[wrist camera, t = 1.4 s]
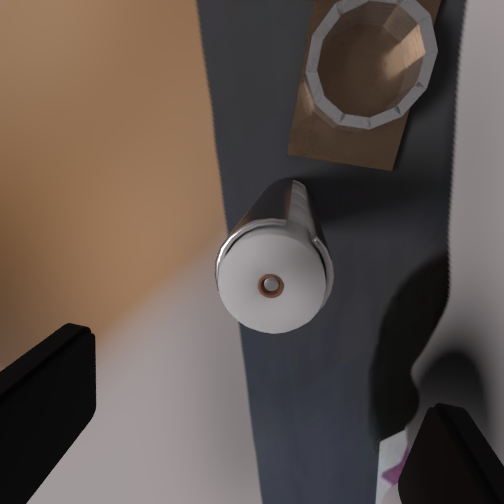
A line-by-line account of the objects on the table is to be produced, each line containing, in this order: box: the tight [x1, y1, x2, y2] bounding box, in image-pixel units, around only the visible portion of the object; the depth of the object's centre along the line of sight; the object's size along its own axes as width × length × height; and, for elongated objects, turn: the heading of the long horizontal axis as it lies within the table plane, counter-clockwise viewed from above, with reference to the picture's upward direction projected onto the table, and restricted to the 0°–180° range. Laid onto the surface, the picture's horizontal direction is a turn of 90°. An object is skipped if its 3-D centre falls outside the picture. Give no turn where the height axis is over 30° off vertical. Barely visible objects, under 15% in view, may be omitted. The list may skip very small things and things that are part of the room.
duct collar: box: [287, 0, 441, 171], centre depth 31 cm, size 18×12×6 cm, turn 171°
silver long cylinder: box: [215, 179, 334, 334], centre depth 28 cm, size 6×6×25 cm
